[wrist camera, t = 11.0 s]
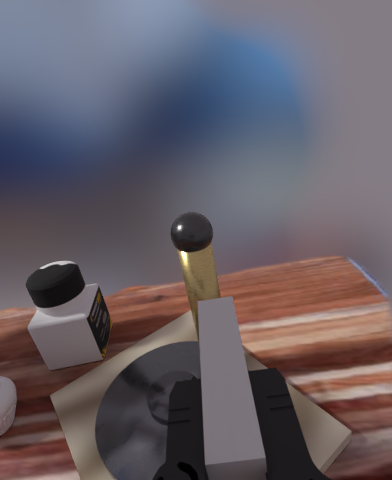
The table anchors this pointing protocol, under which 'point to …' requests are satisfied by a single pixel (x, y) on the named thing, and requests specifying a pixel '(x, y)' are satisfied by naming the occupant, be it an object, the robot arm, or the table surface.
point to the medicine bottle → (67, 316)
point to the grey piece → (7, 403)
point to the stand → (179, 330)
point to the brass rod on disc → (156, 370)
